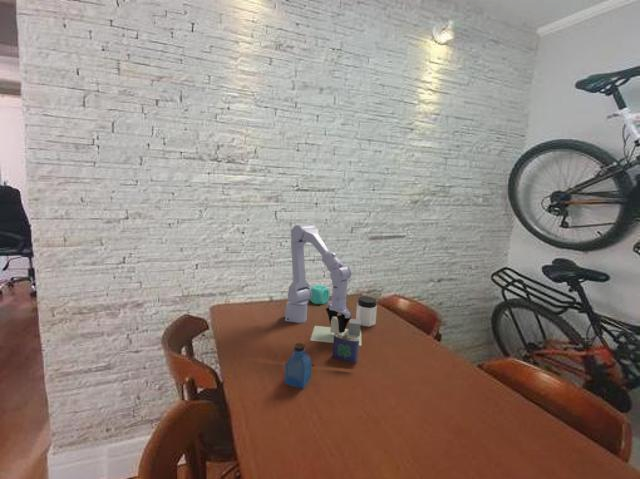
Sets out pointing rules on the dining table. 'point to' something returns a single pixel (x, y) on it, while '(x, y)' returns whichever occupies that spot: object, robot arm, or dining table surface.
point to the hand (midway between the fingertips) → (337, 328)
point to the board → (329, 335)
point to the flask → (345, 348)
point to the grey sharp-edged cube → (354, 327)
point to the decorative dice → (319, 294)
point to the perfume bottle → (298, 367)
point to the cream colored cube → (334, 325)
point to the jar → (366, 310)
